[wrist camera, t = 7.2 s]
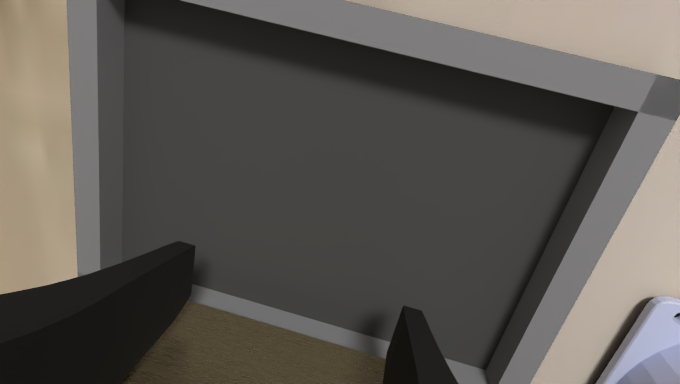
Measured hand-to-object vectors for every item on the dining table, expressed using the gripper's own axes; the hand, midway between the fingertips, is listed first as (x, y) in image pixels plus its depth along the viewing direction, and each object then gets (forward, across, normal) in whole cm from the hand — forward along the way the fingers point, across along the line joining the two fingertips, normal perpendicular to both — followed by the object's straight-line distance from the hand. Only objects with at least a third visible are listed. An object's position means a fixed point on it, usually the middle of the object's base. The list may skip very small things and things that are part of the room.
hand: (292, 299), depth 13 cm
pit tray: (+3, 0, -3) cm, 4 cm away
